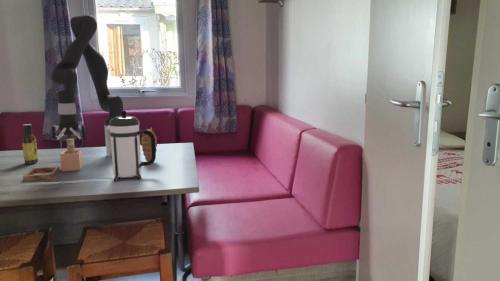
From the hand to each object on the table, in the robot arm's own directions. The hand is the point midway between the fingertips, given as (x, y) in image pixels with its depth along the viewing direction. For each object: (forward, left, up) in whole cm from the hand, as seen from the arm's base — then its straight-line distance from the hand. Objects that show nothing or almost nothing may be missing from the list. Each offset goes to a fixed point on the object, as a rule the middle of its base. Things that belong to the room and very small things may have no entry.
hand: (70, 147), depth 177 cm
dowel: (0, 0, -10) cm, 10 cm away
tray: (+10, +10, -11) cm, 18 cm away
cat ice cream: (-36, -7, -12) cm, 38 cm away
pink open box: (0, 0, -11) cm, 11 cm away
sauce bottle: (+23, -20, -12) cm, 33 cm away
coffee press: (-28, +18, -12) cm, 35 cm away
